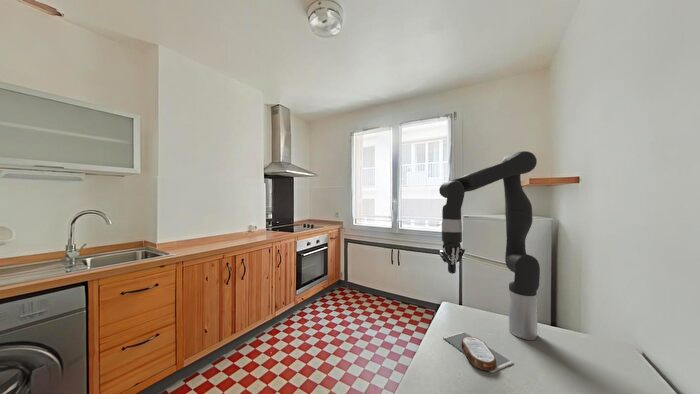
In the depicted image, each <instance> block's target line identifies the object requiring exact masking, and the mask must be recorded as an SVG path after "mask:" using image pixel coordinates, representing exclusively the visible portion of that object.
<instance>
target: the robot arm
mask: <svg viewBox="0 0 700 394" xmlns="http://www.w3.org/2000/svg"><path fill="white" fill-rule="evenodd" d="M537 161H538V160H537V157H536V155H535V154H534V153H533V152H531V151H525V150H523V151H518V152H514V153H513V152H512V153H510V154H507V155H505V156H504V157H503V159H502V161H501V162H500V163H496V164H494V165H492V166H487V167H485V168H481V169H478V170H475V171H473V172H469V173H468V174H465V175H462V176H460V177H458V178H453V179H451V180H447V181H445V182H443V183H442V184H440V187H439V189H438V191H439V195H440V196H441V197H443V198H445V199H446V203H445V204H444V205H443V206H442V209H441V210H442V216H441V217H442V218H441V219H442V220H441V241H442V244H443V245H442V249H441V250H438V252H437V253H438V255H439V256H440V258H441V259H442V261H443V263H447V271H448V273H449V274H456V272H457V263H460V262H461V260H462V257H463V256H464V254H465V251H466V249H465V248H462V244H461V243H462V241H463V230H462V229H463V225H462V224H463V222H462V208H463V202H464V197H465V195H466V194H465V193H466V192H472V191H475V190H478V189H480V188H481V189H482V188H483V187H485V186H488V185H491V184H493V183H495V182H498V181H501V180H502V181H503V188H504V190H503V191H504V204H505V205H504V211H505V214H504V215H505V216H504V217H505V229H506V230H505V232H506V245H505V254H504V255H505V257H504V259H505V260H504V261H505V265H506V268H508V270H510V271H511V272H512V273H514V280H513V281H511V282H509V283H508V331H509V332H510V334H512V335H513V336H515V337H517V338H520V339H523V340H527V341H529V340H530V341H534V340H536V339H537V337H538V312H537V310H538V309H537V308H538V307H537V305H538V302H537V297H538V296H537V292H538V289H539V286H540V279H541V267H540V263H539V261H538V259H537V258H536V257H534V256H533V255H530V254H527V249H526V239H527V237H528V236H527V235H528V233H529V231H530V230H531V228H532V225H533V205H532V202H531V201H530V199H529V197H528V196H527V194H526V193H525V191H524V190H523V189H524V188H523V187H522V183H521V182H522V181H521V179H522V178H521V176H522V175H526V174H528V173H530V172H532V171H534V169H535V167H536V166H537Z"/></svg>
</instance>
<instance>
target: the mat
mask: <svg viewBox="0 0 700 394" xmlns="http://www.w3.org/2000/svg"><path fill="white" fill-rule="evenodd" d="M464 337H472V336H471V335H470V334H468V333H466V332H465V331H460V332H457V333H453V334H449V335H446V336H444V337H443V340H444V341H446V342H447V343H448V344H450V345H452V346H453V347H454V348H455V349H457V350H458V351H459V352H461V353H463V354H464V355H465V356H466V354H465V353H464V351H463V349H462V347H461V345H462V338H464ZM488 348H489V349H490V350H491V352H492V353H493V354H494V356H495V358H496V369H495V370H492V371H488V372H489V373H490V374H493V373H495V372H498V371H499V370H502V369H505V368H506V367H508V366H509V367H510V366H511V365H514V361H512V360H510V359H508V358H507V357H505V356H503V355H502V354H500V353H499V352H498V351H495V350H494V349H492V348H490V347H489V346H488Z"/></svg>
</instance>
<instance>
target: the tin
mask: <svg viewBox="0 0 700 394" xmlns="http://www.w3.org/2000/svg"><path fill="white" fill-rule="evenodd" d="M461 347H462V349H463V351H464V353H465V354H466V355H465V354H464V353H463V354H464V355H465V356H466V359H468V361H469V363H470V364H471V365H473V366H474V367H475V368H478V369H480V370H483V371H488V372H489V371H492V370H495V369H496V358H495V356H494V354H493V353H492V352H491V350H490V349H489V348H490V347H489V346H488V345H487V344H486V343H485V342H484V341H483V340H482V339H481V338H479V337H474V336H471V337H464V338H462V345H461ZM488 347H489V348H488Z"/></svg>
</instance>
